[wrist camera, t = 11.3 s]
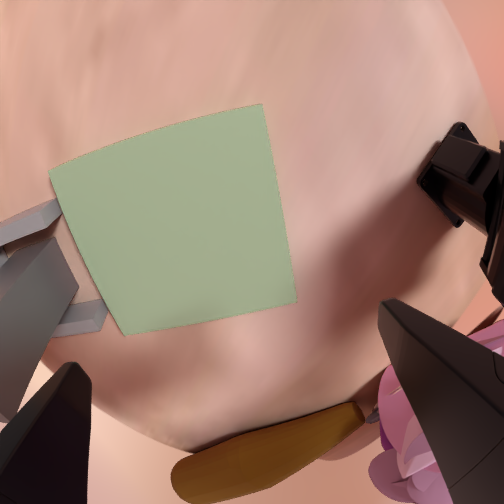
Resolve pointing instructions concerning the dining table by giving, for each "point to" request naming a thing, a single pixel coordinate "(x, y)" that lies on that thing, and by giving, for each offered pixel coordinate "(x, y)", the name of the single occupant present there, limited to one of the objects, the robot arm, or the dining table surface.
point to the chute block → (29, 315)
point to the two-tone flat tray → (173, 225)
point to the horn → (262, 456)
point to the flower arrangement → (412, 439)
